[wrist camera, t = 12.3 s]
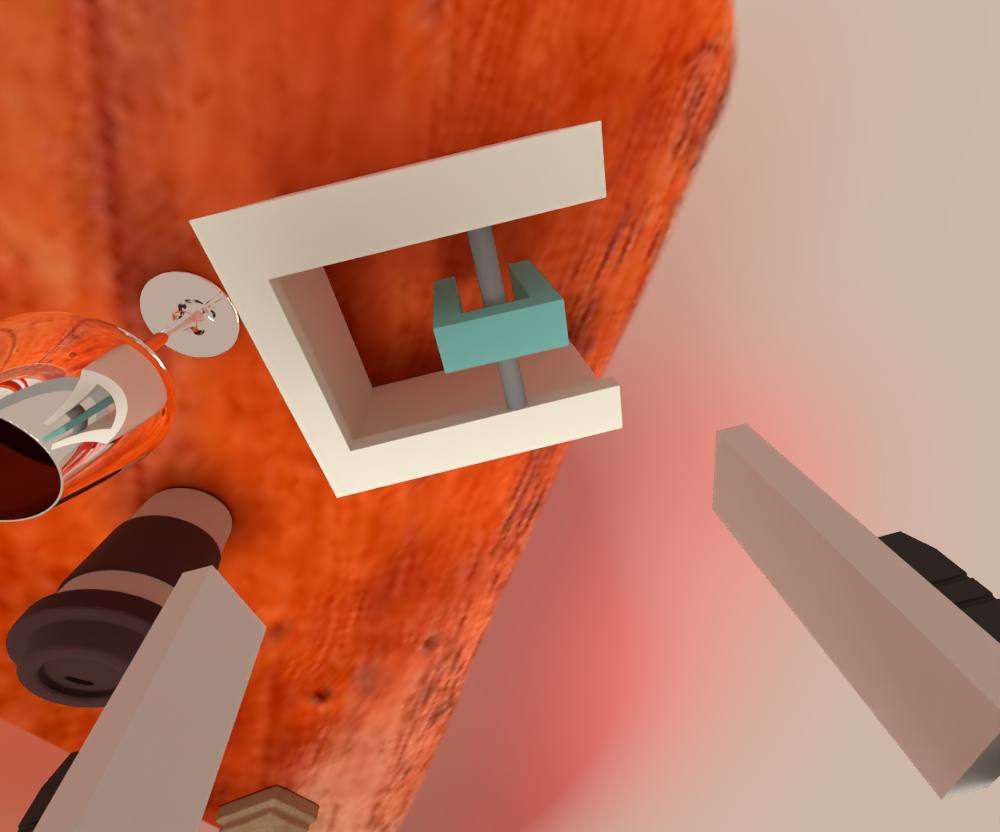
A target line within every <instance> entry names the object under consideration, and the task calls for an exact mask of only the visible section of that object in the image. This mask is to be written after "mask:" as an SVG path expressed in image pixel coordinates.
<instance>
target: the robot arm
mask: <svg viewBox="0 0 1000 832" xmlns="http://www.w3.org/2000/svg"><path fill="white" fill-rule="evenodd" d="M712 509H713V510H714V512H715V513H716V514H717V516H718V517H719V518H720V519H721V521H722V522H723V523H724V524H725V526H726V527H727V528H728V529H729V531H730V532H731V533H732V535H733V536H734V537H735V538H736V540H737V541H738V542H739V543H740V545H741V546H742V547H743V548H744V550H745V551H746V552H747V554H748V555H749V556H750V557H751V559H752V560H753V561H754V562H755V564H756V565H757V566H758V568H759V569H760V570H761V571H762V573H763V574H764V575H765V576H766V578H767V579H768V580H769V582H770V583H771V584H772V585H773V587H774V588H775V589H776V590H777V591H778V593H779V594H780V595H781V596H782V598H783V599H784V601H785V602H786V603H787V604H788V606H789V607H790V608H791V609H792V611H793V612H794V613H795V615H796V616H797V617H798V618H799V620H800V621H801V622H802V623H803V625H804V626H805V627H806V628H807V630H808V631H809V632H810V634H811V635H812V636H813V637H814V639H815V640H816V641H817V642H818V644H819V645H820V646H821V647H822V649H823V650H824V651H825V653H826V654H827V655H828V656H829V657H830V659H831V660H832V661H833V663H834V664H835V665H836V666H837V668H838V669H839V670H840V672H841V673H842V674H843V675H844V677H845V678H846V679H847V680H848V682H849V683H850V684H851V685H852V687H853V688H854V689H855V691H856V692H857V693H858V694H859V696H860V697H861V698H862V699H863V701H864V702H865V703H866V704H867V706H868V707H869V708H870V710H871V711H872V712H873V714H874V715H875V716H876V717H877V719H878V720H879V721H880V722H881V724H882V725H883V726H884V727H885V729H886V730H887V731H888V733H889V734H890V735H891V736H892V738H893V739H894V740H895V741H896V743H897V744H898V745H899V746H900V748H901V749H902V750H903V751H904V753H905V754H906V755H907V757H908V758H909V759H910V760H911V762H912V763H913V764H914V766H915V767H916V768H917V769H918V771H919V772H920V773H921V774H922V776H923V777H924V778H925V780H926V781H927V782H928V783H929V785H930V786H931V787H932V788H933V790H934V791H935V792H936V793H937V795H938V796H939V797H940V799H946V798H950V797H953V796H957V795H961V794H965V793H968V792H972V791H976V790H980V789H983V788H987V787H989V786H990V785H991V784H992V783H993V782H994V781H995V780H996V779H997V778H998V777H999V776H1000V599H996V598H994V597H993V595H992V593H991V592H990V591H989V590H988V589H986V588H985V587H984V586H983V585H981V584H980V583H979V582H978V581H976V580H975V579H974V578H969V577H968V576H967V573H966V572H965V571H964V570H962V569H961V568H960V567H958V566H957V565H956V564H955V563H953V562H952V561H951V560H950V559H948V558H947V557H946V556H945V555H943V554H942V553H941V552H939V551H938V550H937V549H935V548H933V547H931V546H929V545H927V544H925V543H923V542H921V541H919V540H917V539H915V538H913V537H911V536H909V535H907V534H905V533H902V532H901V531H900V532H896V533H893V534H889V535H885V536H882V537H876V536H875V535H874V534H873V533H872V532H870V531H869V530H868V529H867V528H866V527H865V526H864V525H862V524H861V523H860V522H859V521H858V520H857V519H855V518H854V517H853V516H852V515H851V514H850V513H849V512H847V511H846V510H845V509H844V508H843V507H842V506H840V505H839V504H838V503H837V502H836V501H835V500H833V499H832V498H831V497H830V496H829V495H828V494H826V493H825V492H824V491H823V490H822V489H821V488H820V487H818V486H817V485H816V484H815V483H814V482H813V481H812V480H810V479H809V478H808V477H807V476H806V475H805V474H803V473H802V472H801V471H800V470H799V469H798V468H797V467H795V466H794V465H793V464H792V463H791V462H789V461H788V460H787V459H786V458H785V457H784V456H783V455H781V454H780V453H779V452H778V451H777V450H776V449H775V448H773V447H772V446H771V445H770V444H769V443H767V441H765V440H764V439H763V438H762V437H761V436H760V435H758V434H757V433H756V432H755V431H754V430H753V429H751V428H750V427H749V426H748V425H747V424H743V425H739V426H735V427H731V428H727V429H724V430H720V431H717V433H716V451H715V470H714V488H713V507H712ZM266 628H267V627H266V626H265V625H264V624H263V623H262V621H261V620H260V619H259V618H258V617H257V616H256V615H255V613H254V612H253V611H252V610H251V609H250V608H249V607H248V605H247V604H246V603H245V602H244V601H243V600H242V599H241V597H240V596H239V595H238V594H237V593H236V592H235V591H234V589H233V588H232V587H231V586H230V585H229V584H228V583H227V581H226V580H225V579H224V578H223V577H222V576H221V575H220V573H219V572H218V571H217V570H216V569H215V568H214V567H213V565H211V566H207V567H203V568H200V569H196V570H192V571H188V572H185V573H182V575H181V577H180V579H179V580H178V582H177V584H176V586H175V587H174V589H173V591H172V592H171V594H170V596H169V598H168V599H167V601H166V603H165V604H164V606H163V608H162V610H161V611H160V613H159V615H158V617H157V618H156V620H155V622H154V623H153V625H152V627H151V629H150V630H149V632H148V634H147V636H146V637H145V639H144V641H143V642H142V644H141V646H140V648H139V649H138V651H137V653H136V655H135V656H134V658H133V660H132V661H131V663H130V665H129V667H128V668H127V670H126V672H125V673H124V675H123V677H122V679H121V680H120V682H119V684H118V686H117V687H116V689H115V691H114V692H113V694H112V696H111V698H110V699H109V701H108V703H107V705H106V706H105V708H104V710H103V711H102V713H101V715H100V717H99V718H98V720H97V722H96V724H95V725H94V727H93V729H92V730H91V732H90V734H89V736H88V737H87V739H86V741H85V742H84V744H83V746H82V748H81V749H80V751H77V752H73V753H71V754H70V755H69V756H68V757H67V758H66V760H65V761H64V762H63V763H62V764H61V765H60V767H59V768H58V769H57V770H56V771H55V773H54V774H53V775H52V776H51V777H50V778H49V780H48V781H47V782H46V783H45V784H44V786H43V787H42V788H41V790H40V791H39V793H38V795H37V796H36V798H35V799H34V801H33V803H32V804H31V806H30V808H29V809H28V811H27V813H26V814H25V816H24V817H23V819H22V821H21V822H20V824H19V826H18V827H19V830H18V832H197V831H198V829H199V825H200V823H201V820H202V817H203V814H204V811H205V808H206V805H207V802H208V799H209V796H210V793H211V790H212V787H213V784H214V781H215V778H216V775H217V772H218V770H219V767H220V764H221V761H222V758H223V755H224V752H225V749H226V746H227V743H228V740H229V737H230V734H231V731H232V728H233V725H234V722H235V719H236V716H237V713H238V710H239V707H240V705H241V702H242V699H243V696H244V693H245V690H246V687H247V684H248V681H249V678H250V675H251V672H252V669H253V666H254V663H255V660H256V657H257V654H258V651H259V648H260V645H261V642H262V640H263V637H264V634H265V631H266Z"/></svg>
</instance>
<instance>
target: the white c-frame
mask: <svg viewBox="0 0 1000 832" xmlns="http://www.w3.org/2000/svg"><path fill="white" fill-rule="evenodd" d="M601 198H606V184H605V170H604V156H603V141H602V127H601V121H596V122H591V123H586V124H581V125H576V126H571V127H566V128H561V129H556V130H551V131H546V132H541V133H537V134H533V135H529V136H524V137H520V138H516V139H512V140H508V141H504V142H500V143H496V144H491V145H487V146H483V147H479V148H475V149H471V150H467V151H463V152H459V153H454V154H450V155H446V156H442V157H438V158H434V159H430V160H426V161H421V162H417V163H413V164H409V165H405V166H401V167H397V168H393V169H388V170H384V171H380V172H376V173H372V174H368V175H364V176H360V177H356V178H351V179H347V180H343V181H339V182H335V183H331V184H327V185H323V186H318V187H314V188H310V189H306V190H302V191H298V192H294V193H290V194H285V195H281V196H277V197H273V198H270V199H266V200H262V201H259V202H255V203H251V204H248V205H244V206H240V207H237V208H233V209H229V210H226V211H222V212H218V213H215V214H211V215H207V216H204V217H200V218H196V219H193V220H189V223H190V225H191V226H192V228H193V230H194V232H195V234H196V236H197V238H198V240H199V241H200V243H201V245H202V247H203V249H204V251H205V253H206V254H207V256H208V258H209V260H210V262H211V264H212V266H213V267H214V269H215V271H216V273H217V275H218V277H219V279H220V280H221V282H222V284H223V286H224V288H225V290H226V292H227V294H228V295H229V297H230V299H231V301H232V303H233V305H234V307H235V308H236V310H237V312H238V314H239V316H240V318H241V320H242V321H243V323H244V325H245V327H246V329H247V331H248V333H249V335H250V336H251V338H252V340H253V342H254V344H255V346H256V348H257V349H258V351H259V353H260V355H261V357H262V359H263V361H264V362H265V364H266V366H267V368H268V370H269V372H270V374H271V376H272V377H273V379H274V381H275V383H276V385H277V387H278V389H279V390H280V392H281V394H282V396H283V398H284V400H285V402H286V403H287V405H288V407H289V409H290V411H291V413H292V415H293V417H294V418H295V420H296V422H297V424H298V426H299V428H300V430H301V431H302V433H303V435H304V437H305V439H306V441H307V443H308V444H309V446H310V448H311V450H312V452H313V454H314V456H315V457H316V459H317V461H318V463H319V465H320V467H321V469H322V471H323V472H324V474H325V476H326V478H327V480H328V482H329V484H330V485H331V487H332V489H333V491H334V493H335V495H336V497H337V498H338V497H342V496H346V495H350V494H354V493H358V492H362V491H366V490H370V489H374V488H379V487H383V486H387V485H391V484H395V483H399V482H403V481H407V480H411V479H415V478H419V477H423V476H427V475H431V474H436V473H440V472H444V471H448V470H452V469H456V468H460V467H464V466H468V465H472V464H476V463H480V462H484V461H489V460H493V459H497V458H501V457H505V456H509V455H513V454H517V453H521V452H525V451H529V450H533V449H537V448H542V447H546V446H550V445H554V444H558V443H562V442H566V441H570V440H574V439H578V438H582V437H586V436H590V435H594V434H599V433H603V432H606V431H611V430H615V429H619V428H622V415H621V400H620V386H619V384H618V383H617V382H616V380H615V379H614V378H613V377H608V378H604V379H600V380H598V379H597V377H596V376H595V374H594V373H593V372H592V370H591V369H590V368H589V366H588V365H587V363H586V362H585V361H584V359H583V358H582V357H581V355H580V354H579V352H578V351H577V350H576V348H575V347H574V346H573V344H572V343H571V341H570V340H569V345H568V346H564V347H559V348H555V349H551V350H546V351H542V352H538V353H533V354H529V355H524V356H520V357H516V358H511V359H507V360H503V361H498V362H494V363H490V364H485V365H481V366H476V367H472V368H468V369H463V370H459V371H455V372H450V373H446V374H445V370H443V371H438V372H434V373H430V374H426V375H422V376H418V377H414V378H410V379H406V380H402V381H398V382H393V383H389V384H385V385H381V386H377V387H373V388H372V385H371V383H370V380H369V378H368V375H367V373H366V370H365V368H364V366H363V363H362V361H361V358H360V356H359V353H358V351H357V348H356V346H355V343H354V341H353V339H352V336H351V334H350V331H349V329H348V326H347V324H346V321H345V319H344V316H343V314H342V312H341V309H340V307H339V304H338V302H337V299H336V297H335V294H334V292H333V289H332V287H331V285H330V282H329V280H328V277H327V275H326V272H325V270H324V267H323V266H326V265H330V264H334V263H338V262H343V261H347V260H351V259H355V258H359V257H363V256H367V255H371V254H375V253H380V252H384V251H388V250H392V249H396V248H400V247H404V246H408V245H412V244H417V243H421V242H425V241H429V240H433V239H437V238H441V237H445V236H449V235H453V234H458V233H462V232H466V231H467V235H468V239H469V243H470V248H471V252H472V257H473V261H474V265H475V270H476V274H477V278H478V283H479V287H480V291H481V296H482V300H483V304H484V308H486V307H490V306H495V305H499V304H504V303H507V301H506V296H505V291H504V286H503V281H502V276H501V271H500V266H499V261H498V256H497V251H496V246H495V241H494V236H493V231H492V226H491V225H495V224H499V223H503V222H507V221H511V220H515V219H519V218H523V217H527V216H532V215H536V214H540V213H544V212H548V211H552V210H556V209H560V208H564V207H569V206H573V205H577V204H581V203H585V202H589V201H593V200H597V199H601Z"/></svg>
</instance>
